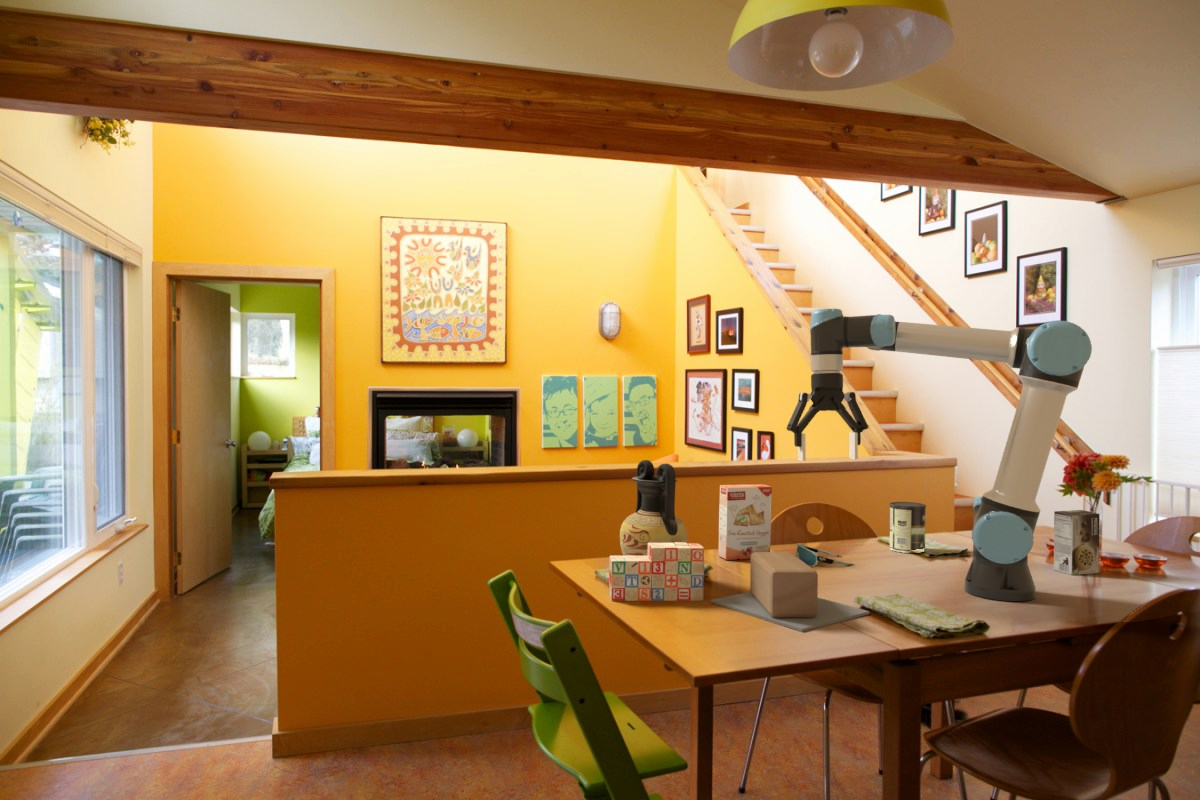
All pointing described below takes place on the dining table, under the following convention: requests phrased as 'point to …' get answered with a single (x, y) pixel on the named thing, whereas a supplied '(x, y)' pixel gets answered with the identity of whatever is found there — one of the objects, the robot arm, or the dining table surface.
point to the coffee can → (907, 526)
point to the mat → (825, 616)
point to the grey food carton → (1076, 542)
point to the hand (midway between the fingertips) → (827, 459)
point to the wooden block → (784, 585)
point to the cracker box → (744, 520)
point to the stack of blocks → (659, 574)
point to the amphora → (652, 511)
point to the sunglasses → (809, 556)
